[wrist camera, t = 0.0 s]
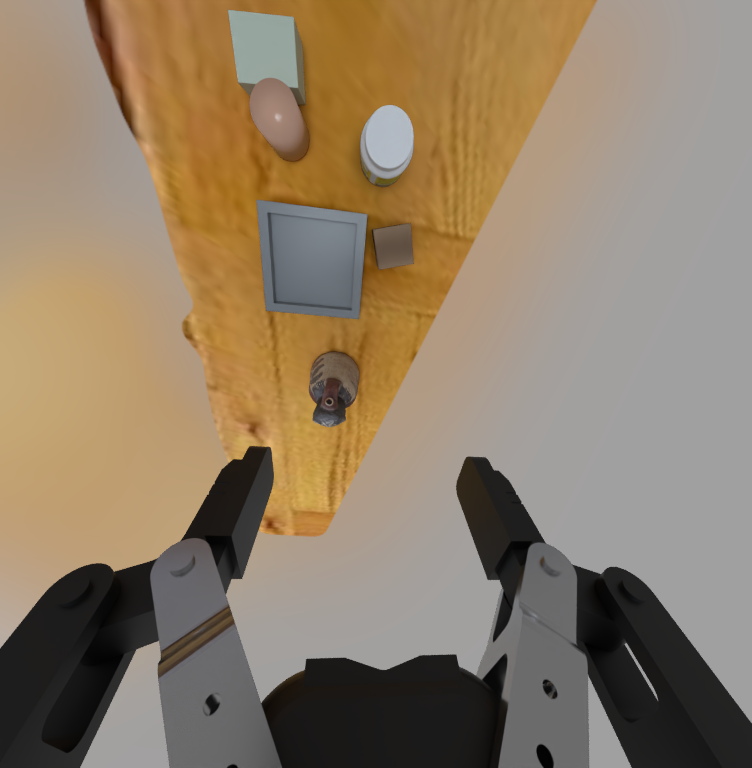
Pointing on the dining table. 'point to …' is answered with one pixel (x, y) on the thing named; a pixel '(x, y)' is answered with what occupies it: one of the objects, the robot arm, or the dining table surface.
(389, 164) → the supplement bottle
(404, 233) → the walnut block
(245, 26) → the sage block
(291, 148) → the pink rounded capsule
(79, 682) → the robot arm
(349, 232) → the tray
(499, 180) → the dining table surface
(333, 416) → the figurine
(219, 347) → the dining table surface
